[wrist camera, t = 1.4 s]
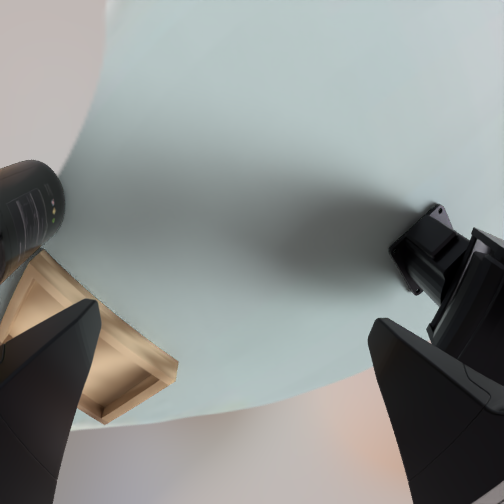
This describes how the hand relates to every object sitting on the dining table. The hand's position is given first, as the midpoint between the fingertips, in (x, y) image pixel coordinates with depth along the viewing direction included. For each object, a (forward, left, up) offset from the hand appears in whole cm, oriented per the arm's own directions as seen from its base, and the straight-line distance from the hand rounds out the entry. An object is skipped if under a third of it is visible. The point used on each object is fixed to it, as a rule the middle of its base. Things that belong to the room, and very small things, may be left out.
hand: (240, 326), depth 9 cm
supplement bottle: (+12, +11, -13) cm, 21 cm away
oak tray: (+1, +21, -13) cm, 25 cm away
